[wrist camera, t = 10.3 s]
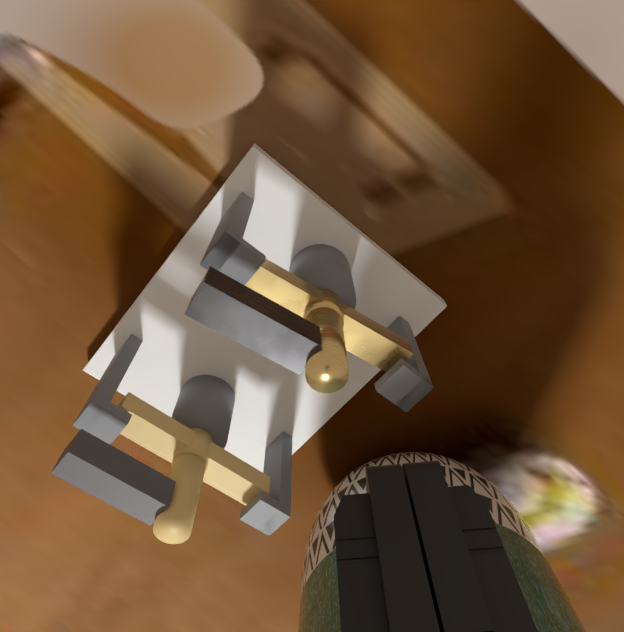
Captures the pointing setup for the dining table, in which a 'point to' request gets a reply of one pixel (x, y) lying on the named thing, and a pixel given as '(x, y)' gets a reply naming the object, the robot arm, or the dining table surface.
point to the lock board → (235, 360)
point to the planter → (519, 543)
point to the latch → (295, 325)
